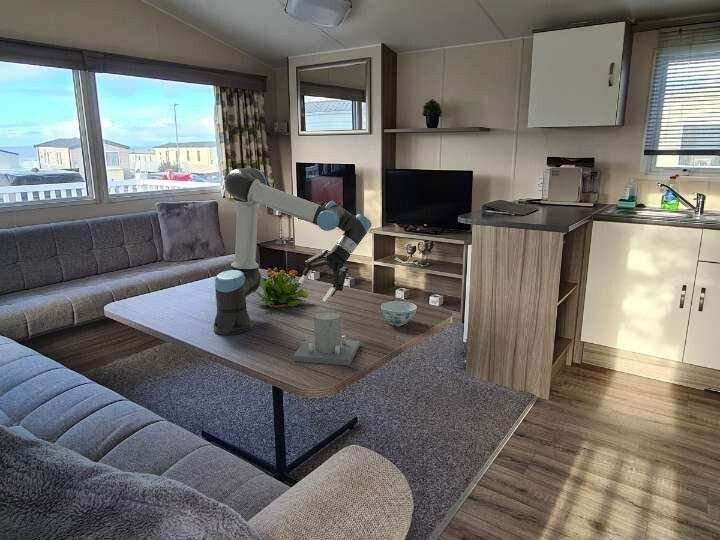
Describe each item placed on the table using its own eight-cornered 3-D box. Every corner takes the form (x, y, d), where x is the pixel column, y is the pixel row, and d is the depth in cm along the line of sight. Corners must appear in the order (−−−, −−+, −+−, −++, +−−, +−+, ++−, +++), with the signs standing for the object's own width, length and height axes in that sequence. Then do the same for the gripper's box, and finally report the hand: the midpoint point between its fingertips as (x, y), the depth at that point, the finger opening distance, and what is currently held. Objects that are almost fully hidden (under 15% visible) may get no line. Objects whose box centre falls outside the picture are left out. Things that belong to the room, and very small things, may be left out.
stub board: (293, 360, 172) (292, 347, 171) (308, 342, 189) (308, 329, 188) (349, 365, 168) (349, 351, 167) (359, 346, 185) (359, 333, 184)
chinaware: (373, 323, 210) (373, 306, 208) (396, 315, 220) (397, 299, 218) (400, 332, 199) (400, 314, 198) (423, 323, 210) (424, 306, 208)
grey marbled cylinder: (317, 354, 172) (316, 320, 170) (312, 344, 181) (311, 312, 179) (343, 351, 175) (343, 318, 172) (337, 341, 184) (337, 310, 181)
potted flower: (275, 316, 219) (273, 278, 215) (240, 306, 233) (238, 270, 229) (313, 303, 238) (312, 268, 235) (279, 295, 252) (277, 261, 248)
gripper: (326, 232, 187) (293, 277, 184) (368, 268, 201) (337, 311, 198) (318, 229, 194) (285, 272, 190) (358, 264, 207) (329, 305, 204)
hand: (312, 292), depth 194 cm, fingers open, 13 cm apart
